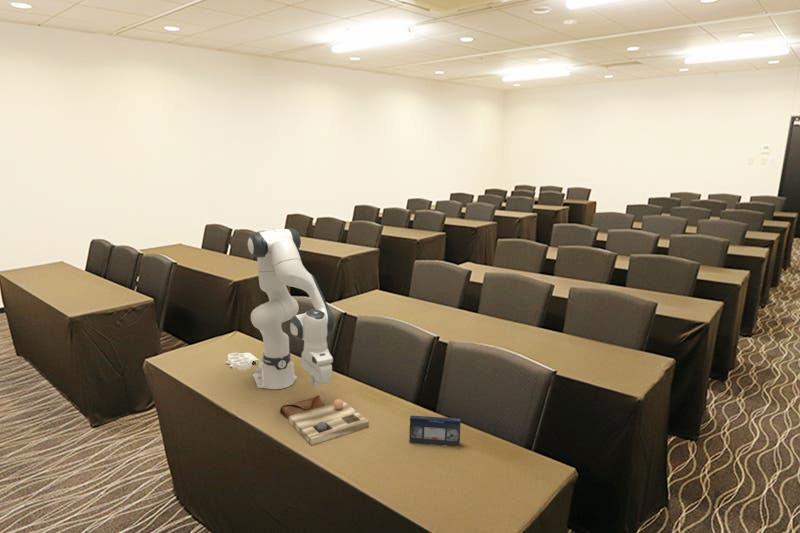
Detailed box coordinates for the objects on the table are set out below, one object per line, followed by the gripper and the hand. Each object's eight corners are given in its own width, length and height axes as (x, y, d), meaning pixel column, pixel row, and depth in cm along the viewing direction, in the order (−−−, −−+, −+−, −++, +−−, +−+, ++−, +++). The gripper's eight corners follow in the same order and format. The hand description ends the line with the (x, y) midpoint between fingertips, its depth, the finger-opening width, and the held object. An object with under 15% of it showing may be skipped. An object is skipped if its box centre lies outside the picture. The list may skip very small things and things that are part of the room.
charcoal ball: (318, 436, 191) (314, 429, 194) (328, 433, 193) (323, 426, 196) (319, 428, 190) (315, 421, 192) (329, 425, 192) (324, 418, 195)
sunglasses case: (289, 421, 201) (285, 404, 203) (282, 423, 206) (278, 407, 208) (329, 408, 212) (325, 392, 214) (322, 411, 217) (317, 395, 219)
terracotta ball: (331, 407, 208) (331, 398, 207) (340, 405, 210) (340, 396, 209) (336, 411, 204) (336, 402, 204) (345, 409, 207) (345, 400, 206)
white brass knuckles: (263, 366, 254) (234, 373, 245) (248, 355, 268) (220, 361, 259) (262, 360, 253) (233, 367, 245) (248, 349, 267) (220, 355, 258)
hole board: (288, 422, 201) (288, 416, 200) (343, 406, 214) (343, 400, 214) (311, 445, 185) (311, 439, 184) (368, 426, 198) (368, 420, 198)
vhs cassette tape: (408, 443, 188) (409, 418, 186) (409, 438, 191) (410, 414, 189) (459, 447, 185) (460, 422, 183) (459, 443, 188) (461, 418, 186)
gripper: (296, 345, 203) (297, 377, 206) (319, 363, 187) (319, 398, 190) (311, 342, 207) (311, 374, 210) (335, 359, 190) (334, 394, 193)
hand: (315, 386), depth 199 cm, fingers closed
